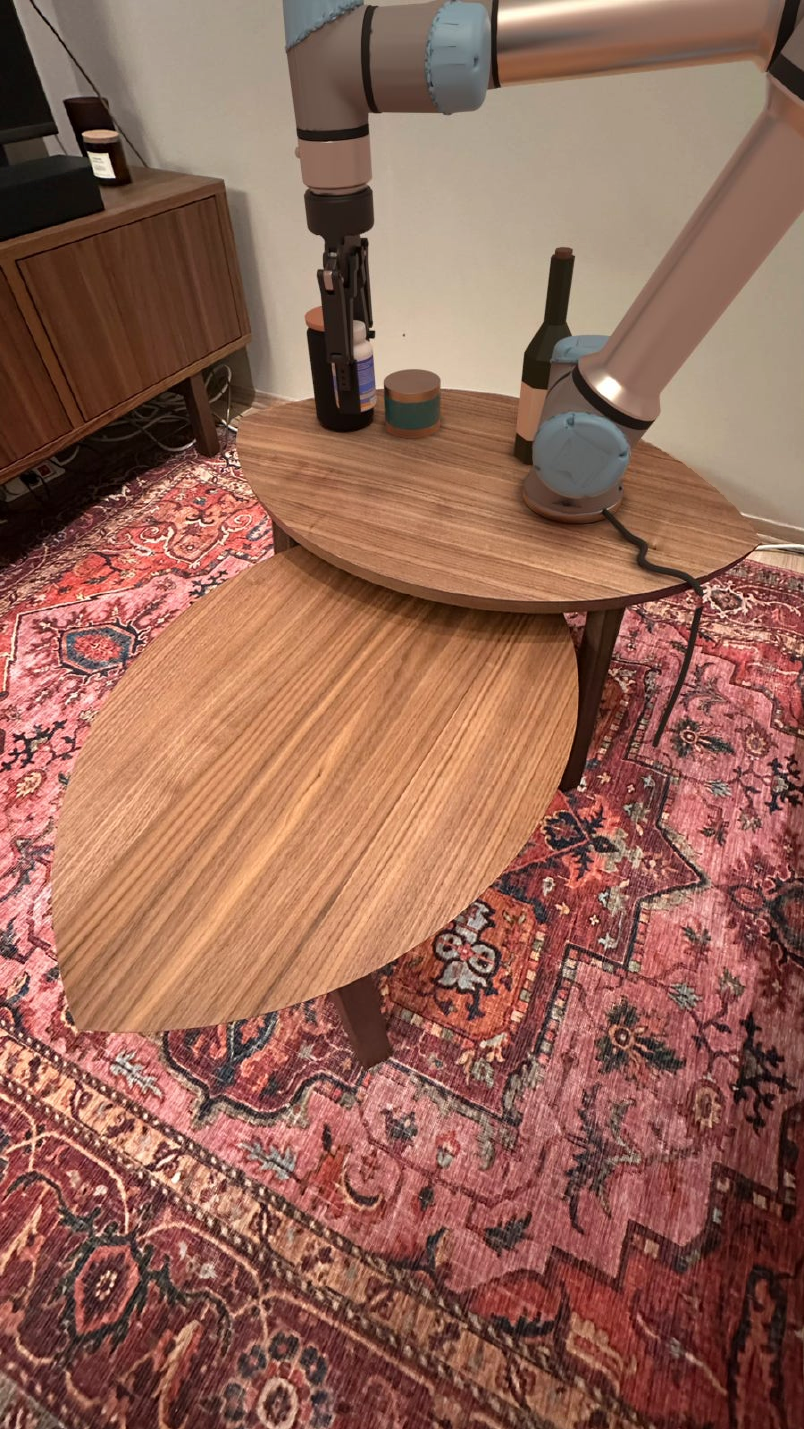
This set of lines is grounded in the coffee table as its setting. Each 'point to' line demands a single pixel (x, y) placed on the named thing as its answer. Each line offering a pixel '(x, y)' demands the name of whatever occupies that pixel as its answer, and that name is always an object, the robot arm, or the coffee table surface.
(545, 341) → the wine bottle
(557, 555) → the coffee table surface
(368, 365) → the pill bottle
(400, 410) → the tin
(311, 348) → the coffee jar
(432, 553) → the coffee table surface
